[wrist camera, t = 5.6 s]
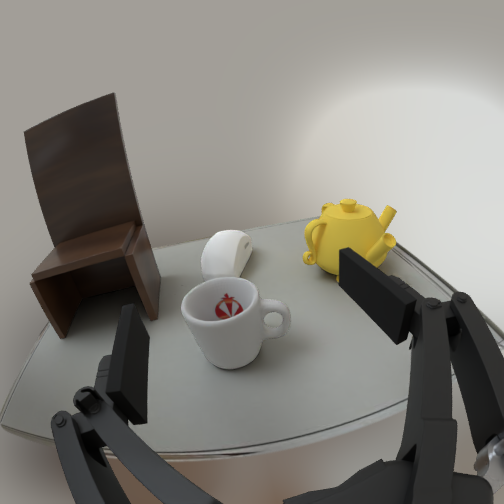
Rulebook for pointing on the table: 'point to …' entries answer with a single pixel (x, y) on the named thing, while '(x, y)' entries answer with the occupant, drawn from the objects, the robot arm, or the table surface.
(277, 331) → the cup
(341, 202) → the teapot
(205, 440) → the table surface
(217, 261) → the computer mouse
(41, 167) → the wooden chair
